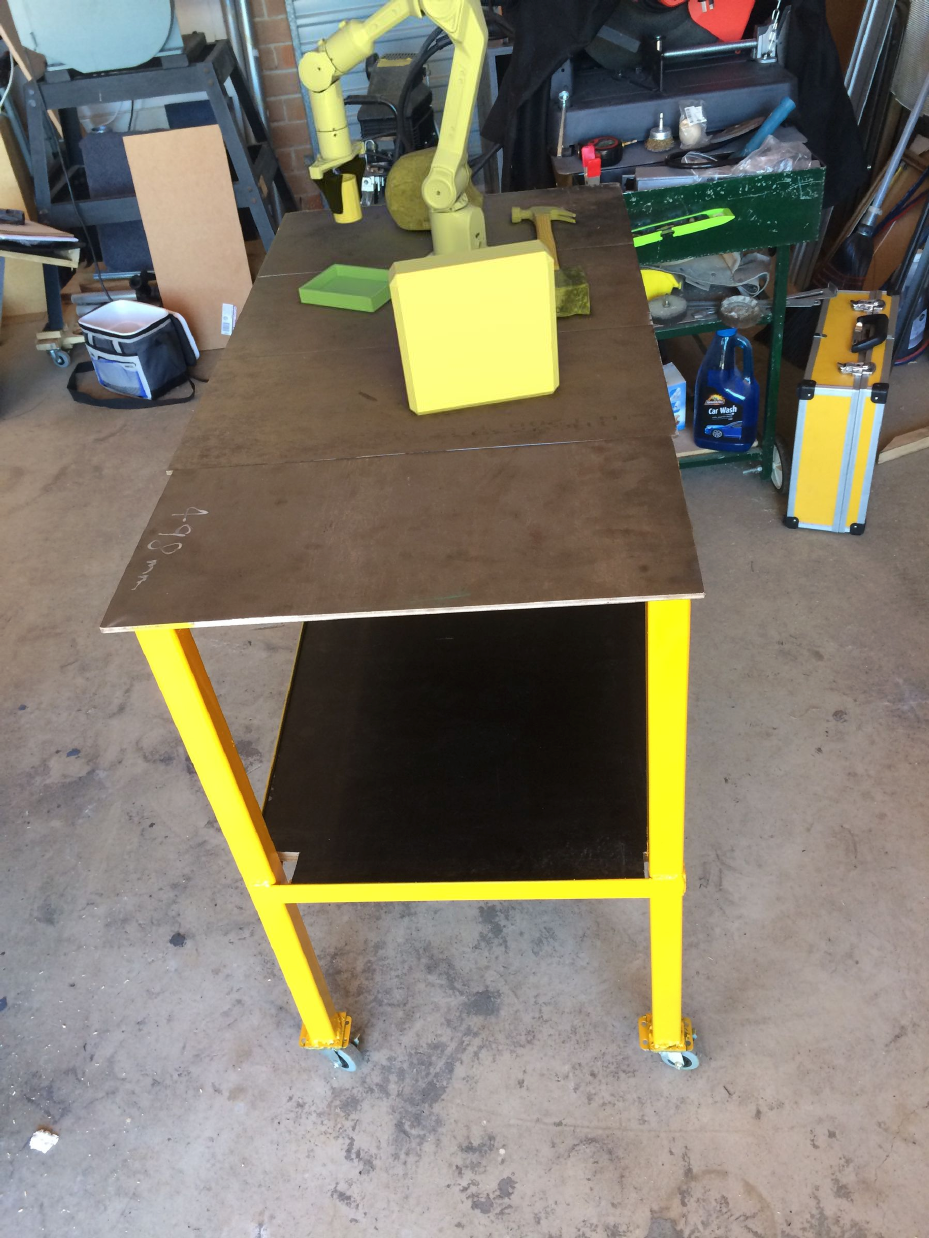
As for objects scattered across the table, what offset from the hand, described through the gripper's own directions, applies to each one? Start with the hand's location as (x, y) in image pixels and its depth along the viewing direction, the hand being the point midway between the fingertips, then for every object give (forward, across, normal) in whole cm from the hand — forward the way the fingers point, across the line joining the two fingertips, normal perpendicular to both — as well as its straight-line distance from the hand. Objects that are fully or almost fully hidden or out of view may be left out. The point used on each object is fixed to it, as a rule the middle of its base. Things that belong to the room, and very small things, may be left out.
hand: (346, 207), depth 172 cm
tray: (+9, +15, +10) cm, 20 cm away
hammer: (+9, -13, +34) cm, 37 cm away
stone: (+9, -16, +9) cm, 20 cm away
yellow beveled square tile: (+9, +40, +49) cm, 64 cm away
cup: (+2, 0, 0) cm, 2 cm away
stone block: (+9, +12, +45) cm, 47 cm away
